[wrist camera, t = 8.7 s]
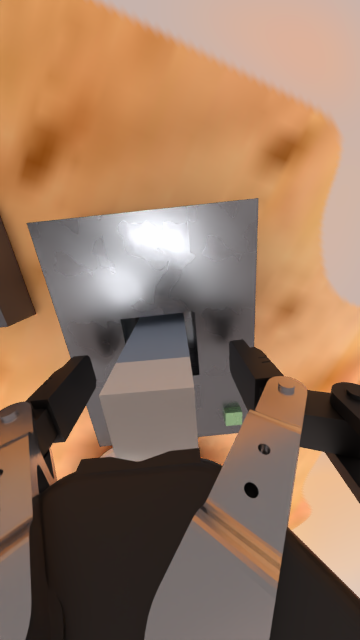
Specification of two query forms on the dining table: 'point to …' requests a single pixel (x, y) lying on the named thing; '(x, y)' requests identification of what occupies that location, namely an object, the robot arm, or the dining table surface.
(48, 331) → the dining table surface
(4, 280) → the holster
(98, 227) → the port
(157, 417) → the plug
